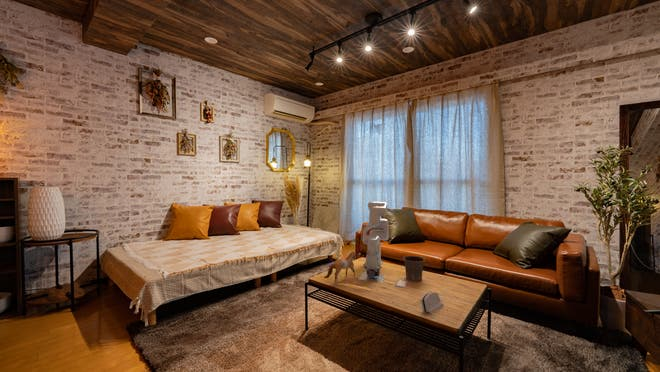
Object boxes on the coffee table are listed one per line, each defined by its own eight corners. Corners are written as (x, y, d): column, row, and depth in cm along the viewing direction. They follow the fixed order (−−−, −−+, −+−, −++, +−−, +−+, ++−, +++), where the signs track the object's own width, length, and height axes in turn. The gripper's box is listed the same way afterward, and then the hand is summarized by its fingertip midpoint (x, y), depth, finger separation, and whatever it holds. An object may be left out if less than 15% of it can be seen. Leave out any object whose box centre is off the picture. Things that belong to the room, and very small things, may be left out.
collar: (369, 274, 220) (369, 268, 220) (376, 275, 218) (376, 269, 218) (367, 276, 215) (367, 270, 215) (374, 278, 212) (374, 271, 212)
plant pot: (404, 281, 211) (404, 261, 210) (402, 274, 227) (402, 255, 226) (426, 283, 208) (426, 262, 207) (422, 275, 224) (422, 256, 223)
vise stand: (364, 273, 228) (364, 266, 228) (385, 276, 221) (385, 269, 220) (357, 281, 212) (357, 273, 212) (380, 285, 204) (380, 277, 204)
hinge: (430, 314, 161) (425, 297, 163) (423, 314, 164) (418, 297, 166) (444, 305, 171) (439, 289, 174) (437, 305, 175) (432, 289, 177)
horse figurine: (354, 275, 224) (354, 250, 223) (360, 278, 217) (360, 253, 217) (323, 284, 205) (323, 257, 205) (329, 287, 199) (329, 260, 198)
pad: (392, 280, 214) (392, 279, 214) (407, 282, 209) (407, 281, 209) (389, 285, 204) (389, 284, 204) (404, 287, 199) (404, 286, 199)
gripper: (384, 253, 215) (383, 275, 216) (363, 250, 223) (363, 272, 223) (381, 256, 209) (381, 279, 209) (360, 253, 216) (360, 275, 217)
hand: (372, 275), depth 216 cm, fingers closed on collar, 6 cm apart
